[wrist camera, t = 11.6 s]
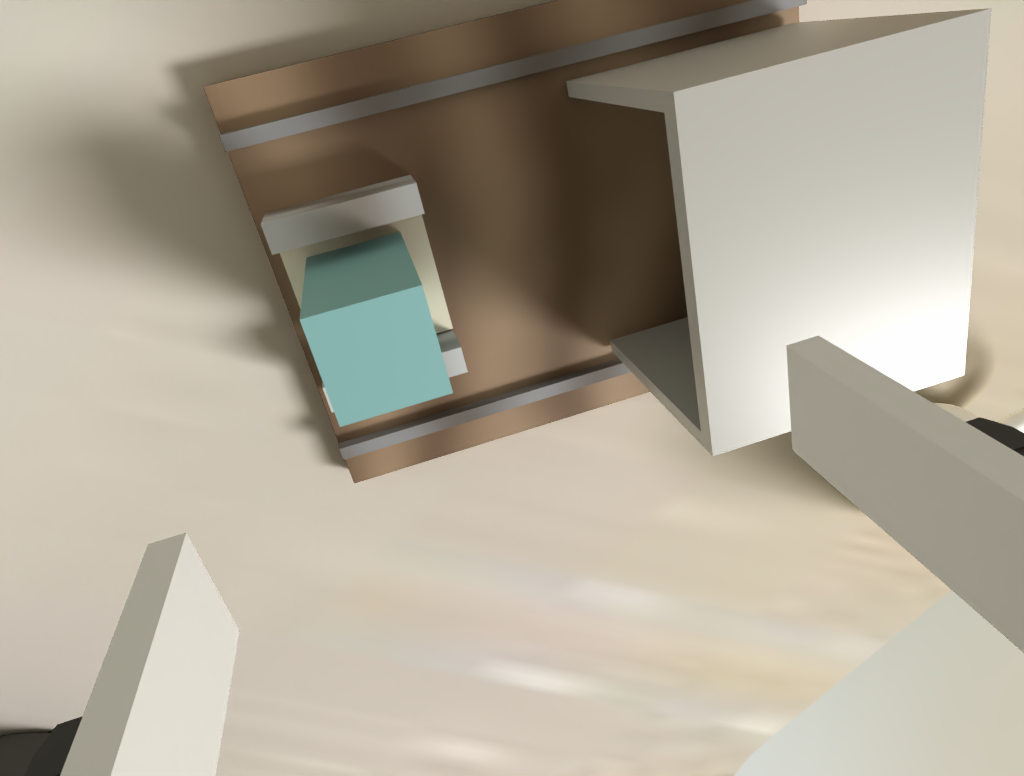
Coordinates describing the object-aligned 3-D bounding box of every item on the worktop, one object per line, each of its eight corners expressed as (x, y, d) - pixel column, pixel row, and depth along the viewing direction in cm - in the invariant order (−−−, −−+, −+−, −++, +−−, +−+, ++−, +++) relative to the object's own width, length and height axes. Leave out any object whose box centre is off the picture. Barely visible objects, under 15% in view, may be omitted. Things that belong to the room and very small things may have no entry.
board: (353, 470, 36) (355, 508, 33) (208, 85, 28) (193, 89, 25) (796, 334, 39) (836, 357, 36) (780, -55, 31) (829, -67, 28)
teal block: (337, 344, 32) (339, 426, 25) (306, 257, 30) (299, 319, 23) (425, 319, 32) (453, 393, 25) (400, 231, 31) (422, 285, 23)
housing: (611, 351, 35) (712, 456, 26) (566, 81, 29) (673, 91, 20) (802, 293, 36) (964, 375, 27) (792, 22, 30) (991, 8, 21)
